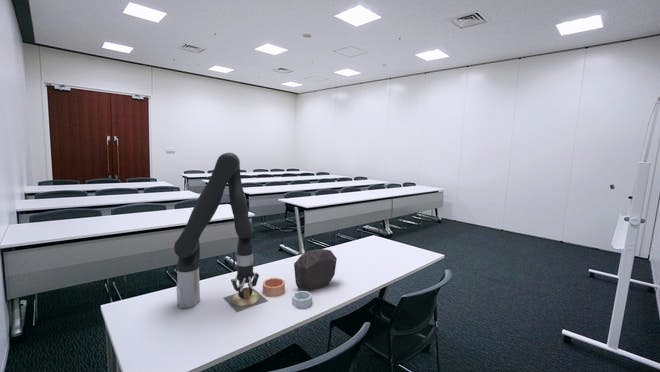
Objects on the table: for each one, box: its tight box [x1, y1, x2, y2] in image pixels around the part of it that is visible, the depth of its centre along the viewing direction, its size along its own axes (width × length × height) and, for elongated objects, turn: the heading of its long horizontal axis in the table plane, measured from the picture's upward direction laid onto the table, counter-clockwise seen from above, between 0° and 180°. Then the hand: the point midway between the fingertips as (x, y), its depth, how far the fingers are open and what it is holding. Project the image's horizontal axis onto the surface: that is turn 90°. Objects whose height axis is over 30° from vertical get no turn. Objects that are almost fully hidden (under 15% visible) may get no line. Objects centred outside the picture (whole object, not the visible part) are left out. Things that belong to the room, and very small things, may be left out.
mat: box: [223, 288, 269, 313], centre depth 150 cm, size 16×16×1 cm
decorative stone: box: [293, 248, 337, 291], centre depth 165 cm, size 24×9×20 cm, turn 123°
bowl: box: [262, 277, 286, 298], centre depth 158 cm, size 11×11×5 cm
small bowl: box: [291, 290, 313, 310], centre depth 148 cm, size 9×9×4 cm
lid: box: [231, 286, 259, 306], centre depth 149 cm, size 13×13×5 cm
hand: (245, 296), depth 149 cm, fingers open, 3 cm apart
